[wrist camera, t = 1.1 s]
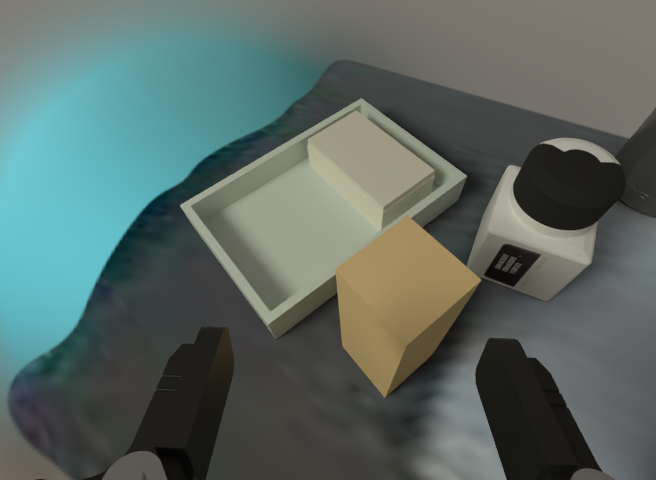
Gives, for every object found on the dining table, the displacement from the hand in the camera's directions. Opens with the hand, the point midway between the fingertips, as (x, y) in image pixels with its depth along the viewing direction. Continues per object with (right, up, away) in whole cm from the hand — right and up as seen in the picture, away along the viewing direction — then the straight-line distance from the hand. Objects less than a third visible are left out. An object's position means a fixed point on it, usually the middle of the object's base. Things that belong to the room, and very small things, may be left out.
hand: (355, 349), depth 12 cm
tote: (-1, +6, +29) cm, 30 cm away
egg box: (+4, +10, +30) cm, 32 cm away
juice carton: (+4, -6, +21) cm, 23 cm away
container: (+17, +2, +26) cm, 31 cm away
